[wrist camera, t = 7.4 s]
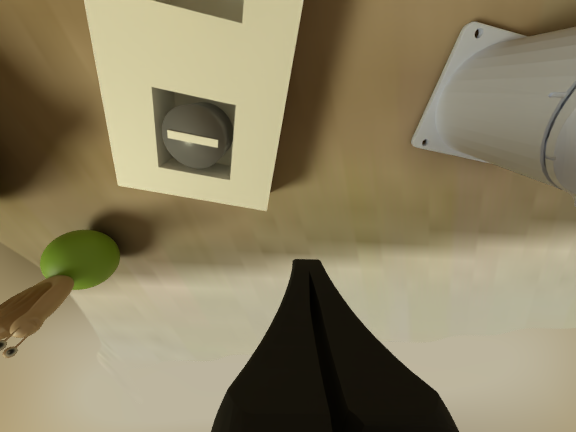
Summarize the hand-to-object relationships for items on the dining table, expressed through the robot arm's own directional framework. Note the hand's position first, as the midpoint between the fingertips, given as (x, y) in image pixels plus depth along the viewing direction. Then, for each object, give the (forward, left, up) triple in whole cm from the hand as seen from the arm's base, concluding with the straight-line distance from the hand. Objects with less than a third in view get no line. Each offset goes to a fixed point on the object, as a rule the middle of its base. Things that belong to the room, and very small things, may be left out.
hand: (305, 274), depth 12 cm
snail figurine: (+18, +9, -11) cm, 23 cm away
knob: (+8, -4, -10) cm, 13 cm away
